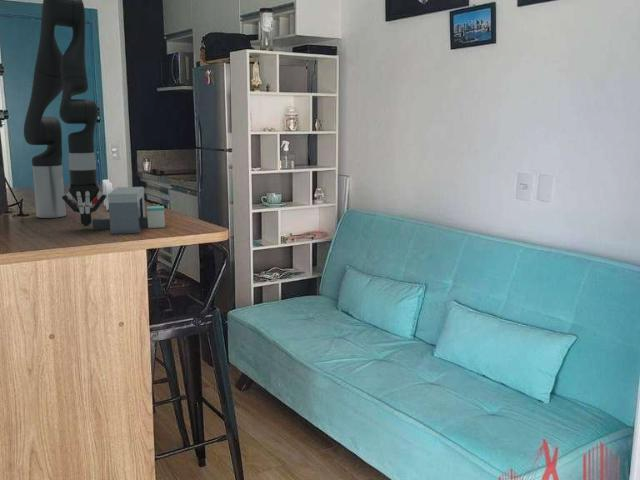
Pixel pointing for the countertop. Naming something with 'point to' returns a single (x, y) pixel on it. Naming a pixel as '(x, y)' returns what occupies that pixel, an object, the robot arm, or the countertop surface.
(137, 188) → the housing
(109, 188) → the letter
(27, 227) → the countertop surface
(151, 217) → the plug
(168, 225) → the countertop surface
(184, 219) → the countertop surface
